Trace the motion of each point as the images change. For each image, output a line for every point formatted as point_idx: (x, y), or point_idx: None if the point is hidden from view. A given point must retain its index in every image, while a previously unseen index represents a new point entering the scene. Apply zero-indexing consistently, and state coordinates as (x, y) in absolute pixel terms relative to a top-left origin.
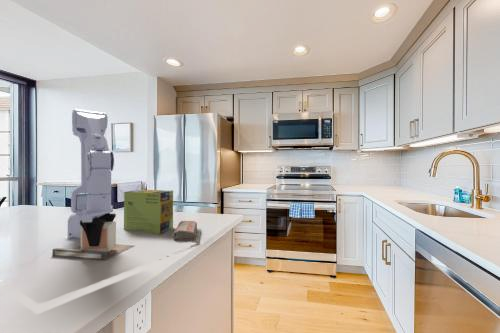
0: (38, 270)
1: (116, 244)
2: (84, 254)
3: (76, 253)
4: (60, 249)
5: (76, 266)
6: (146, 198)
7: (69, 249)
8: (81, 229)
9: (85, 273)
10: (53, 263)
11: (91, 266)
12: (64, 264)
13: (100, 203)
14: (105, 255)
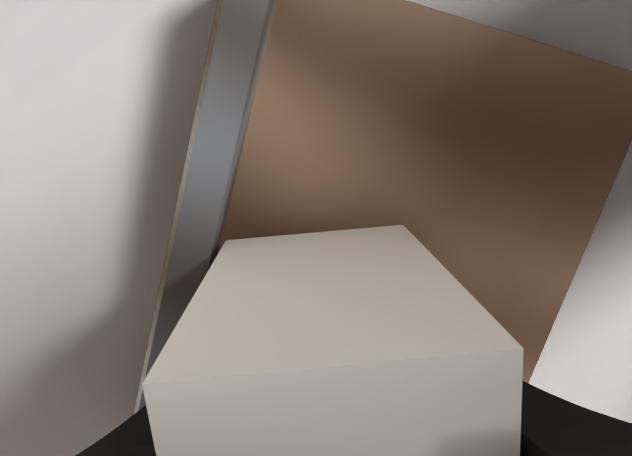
0: (29, 8)
1: (528, 373)
2: (156, 315)
3: (170, 237)
4: (221, 34)
5: (123, 258)
6: None
7: (222, 136)
8: (163, 364)
9: (10, 384)
10: (181, 29)
11: (127, 360)
12: (160, 141)
13: None
14: None
